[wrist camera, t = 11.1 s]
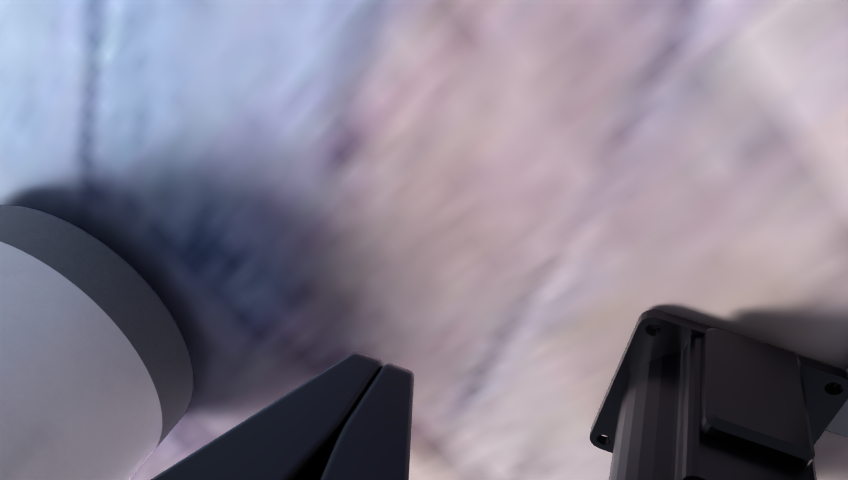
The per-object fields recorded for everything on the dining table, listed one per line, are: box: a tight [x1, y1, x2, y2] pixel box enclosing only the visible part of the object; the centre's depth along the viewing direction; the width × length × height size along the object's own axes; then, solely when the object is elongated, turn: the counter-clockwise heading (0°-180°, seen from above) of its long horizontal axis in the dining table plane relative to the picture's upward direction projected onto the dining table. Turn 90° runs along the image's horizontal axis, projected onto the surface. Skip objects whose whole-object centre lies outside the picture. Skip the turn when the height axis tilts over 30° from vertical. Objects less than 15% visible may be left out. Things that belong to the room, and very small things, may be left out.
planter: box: [0, 205, 193, 480], centre depth 29 cm, size 13×13×10 cm
